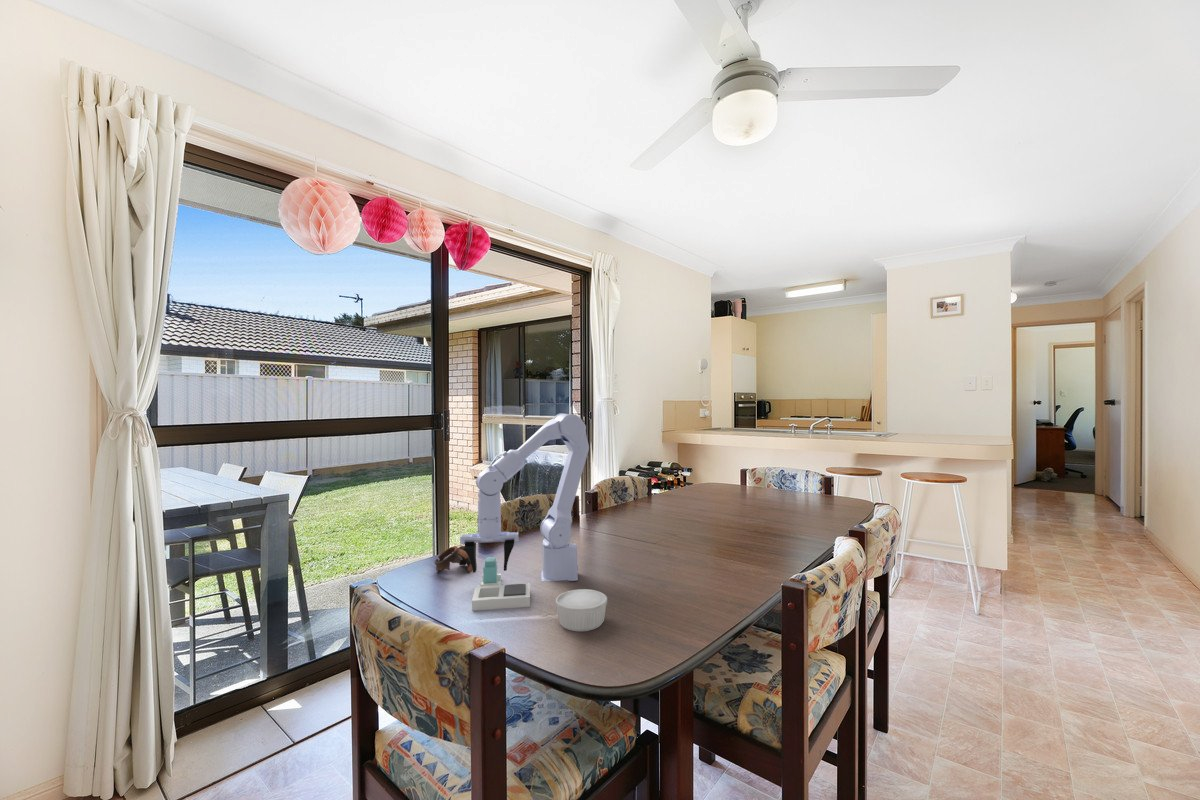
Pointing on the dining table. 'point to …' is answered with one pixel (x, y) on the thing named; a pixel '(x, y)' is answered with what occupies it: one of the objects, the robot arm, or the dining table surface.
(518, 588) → the panel
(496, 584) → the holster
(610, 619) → the dining table surface
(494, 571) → the plug
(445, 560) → the brown jagged curved sculpture
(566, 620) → the ramekin
